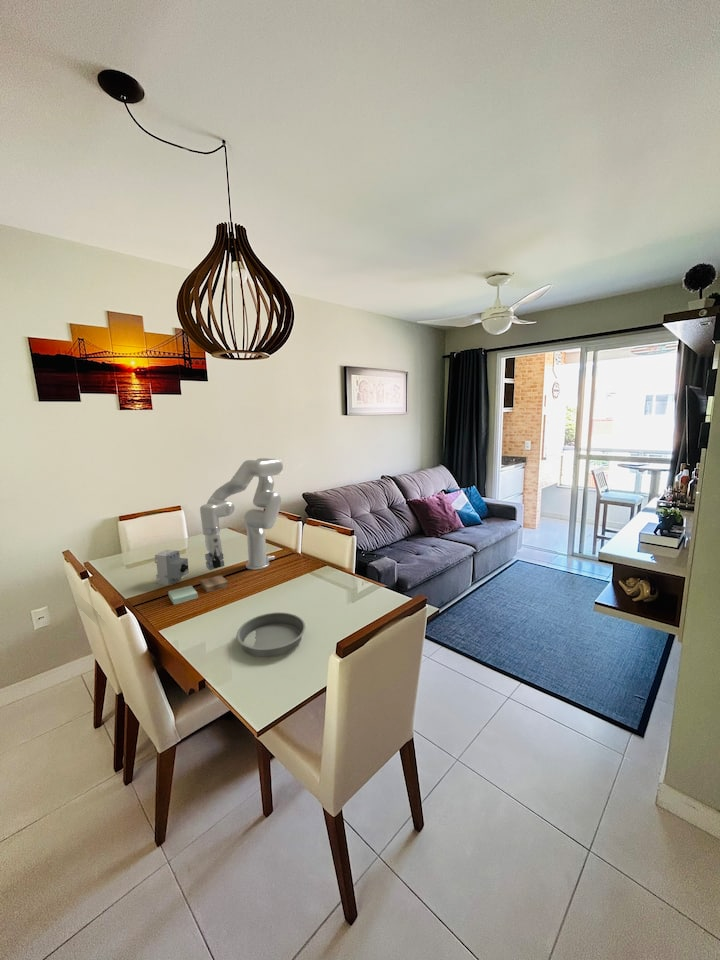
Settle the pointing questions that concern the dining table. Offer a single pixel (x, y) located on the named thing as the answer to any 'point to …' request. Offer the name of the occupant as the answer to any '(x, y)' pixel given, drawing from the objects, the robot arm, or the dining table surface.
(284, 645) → the cake pan
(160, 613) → the dining table surface
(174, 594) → the stand green
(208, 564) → the block
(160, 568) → the circuit breaker
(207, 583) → the stand walnut
